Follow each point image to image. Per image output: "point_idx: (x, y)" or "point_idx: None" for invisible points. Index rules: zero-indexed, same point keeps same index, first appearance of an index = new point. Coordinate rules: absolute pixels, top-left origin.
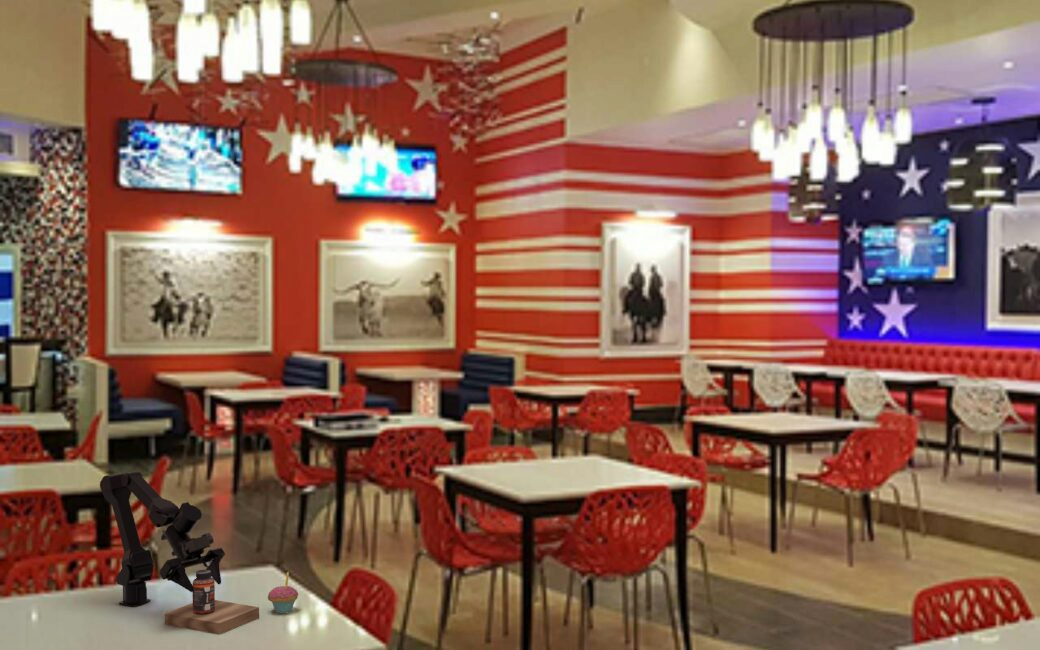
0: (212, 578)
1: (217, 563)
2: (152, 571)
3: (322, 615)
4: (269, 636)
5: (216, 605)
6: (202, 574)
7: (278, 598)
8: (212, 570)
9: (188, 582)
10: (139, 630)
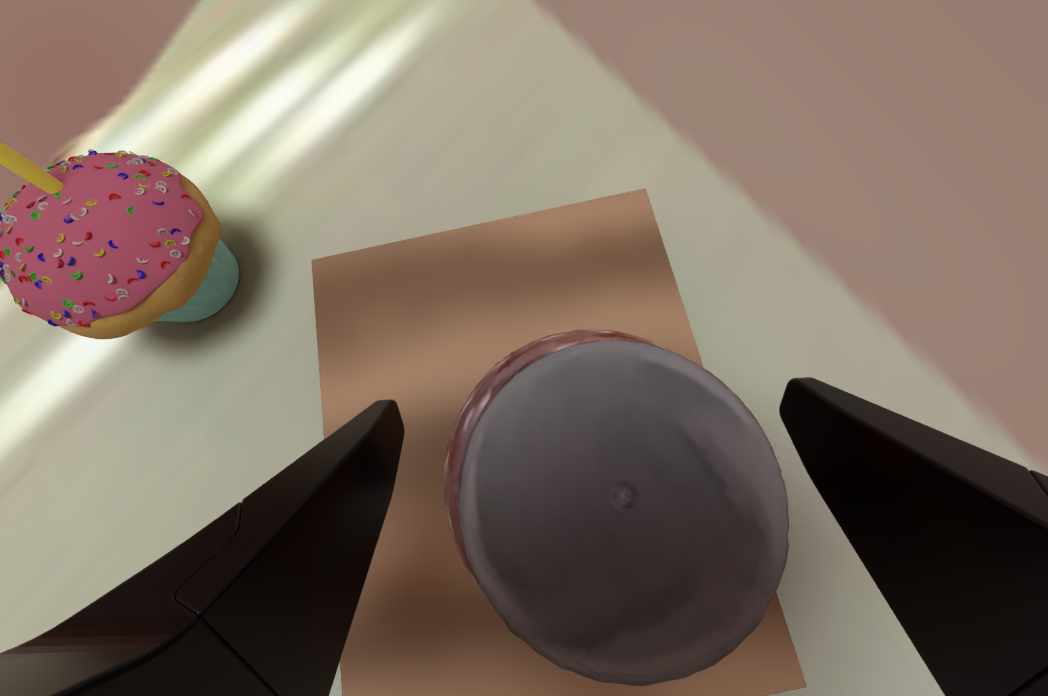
0: (485, 404)
1: (56, 655)
2: None
3: (178, 107)
4: (504, 54)
5: (429, 514)
6: (711, 376)
7: (190, 192)
8: (280, 656)
9: (936, 437)
10: None
